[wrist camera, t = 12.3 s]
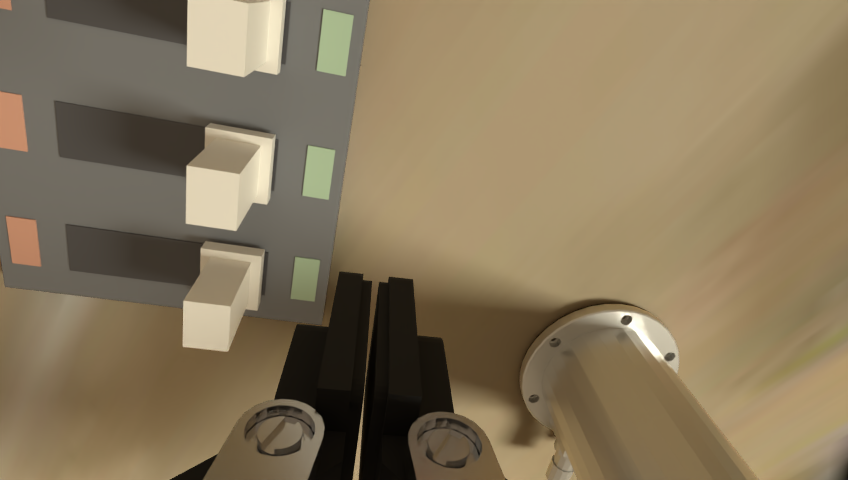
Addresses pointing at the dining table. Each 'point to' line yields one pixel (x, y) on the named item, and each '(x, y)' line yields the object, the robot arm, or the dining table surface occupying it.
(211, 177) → the breaker mid
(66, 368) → the dining table surface
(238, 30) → the breaker near
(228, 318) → the breaker far
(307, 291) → the console
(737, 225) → the dining table surface
